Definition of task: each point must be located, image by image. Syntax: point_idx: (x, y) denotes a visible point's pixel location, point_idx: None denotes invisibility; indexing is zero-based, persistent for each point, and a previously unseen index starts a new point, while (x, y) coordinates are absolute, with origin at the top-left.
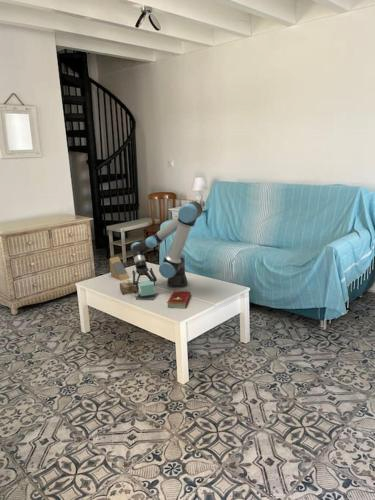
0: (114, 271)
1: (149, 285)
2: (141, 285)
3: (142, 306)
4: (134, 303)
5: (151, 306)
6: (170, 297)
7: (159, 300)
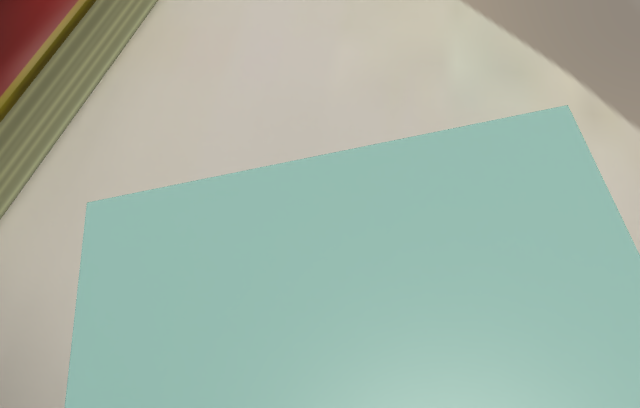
0: None
1: (258, 179)
2: (553, 169)
3: (473, 35)
4: (620, 150)
5: (348, 23)
6: (37, 45)
7: None
